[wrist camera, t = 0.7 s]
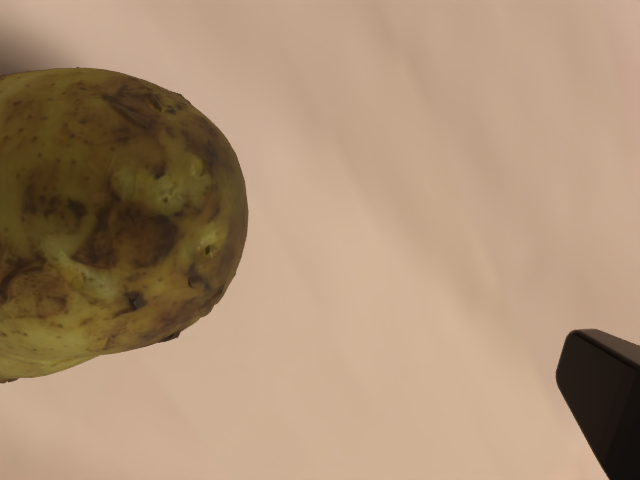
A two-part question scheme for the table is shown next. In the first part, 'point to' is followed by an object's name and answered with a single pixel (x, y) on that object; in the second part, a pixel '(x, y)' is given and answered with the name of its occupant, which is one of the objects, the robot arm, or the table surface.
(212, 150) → the potato
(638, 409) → the robot arm
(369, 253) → the table surface
